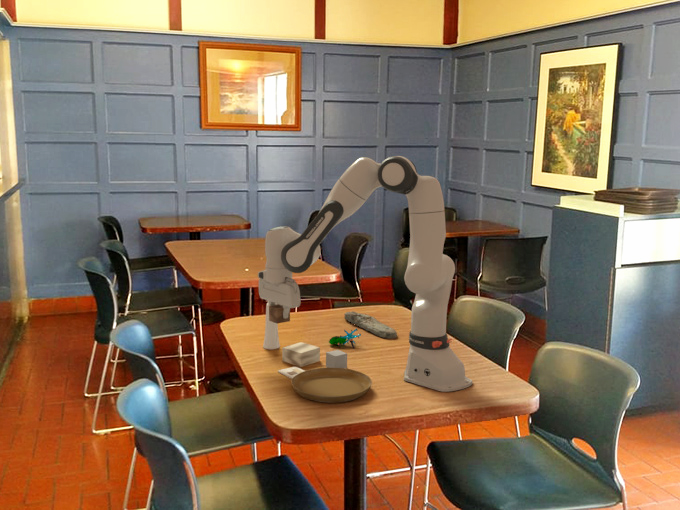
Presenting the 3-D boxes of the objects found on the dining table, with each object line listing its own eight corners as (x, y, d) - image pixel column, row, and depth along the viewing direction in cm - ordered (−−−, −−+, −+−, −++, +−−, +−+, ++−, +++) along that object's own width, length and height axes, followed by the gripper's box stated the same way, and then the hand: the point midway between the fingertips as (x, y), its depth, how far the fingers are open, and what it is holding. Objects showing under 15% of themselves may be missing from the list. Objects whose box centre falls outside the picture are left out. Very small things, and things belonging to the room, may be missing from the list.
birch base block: (319, 361, 231) (319, 347, 230) (301, 367, 224) (301, 353, 223) (301, 355, 237) (301, 342, 236) (282, 361, 230) (282, 347, 229)
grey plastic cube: (347, 368, 224) (347, 353, 223) (334, 370, 221) (335, 356, 220) (337, 364, 228) (338, 349, 227) (325, 366, 225) (326, 352, 224)
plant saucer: (321, 413, 187) (321, 401, 187) (276, 387, 206) (276, 376, 206) (387, 395, 201) (388, 384, 201) (340, 372, 220) (340, 362, 220)
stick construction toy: (360, 336, 253) (357, 324, 247) (365, 351, 248) (363, 338, 242) (329, 345, 252) (326, 333, 246) (334, 360, 247) (331, 348, 242)
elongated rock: (381, 344, 256) (403, 342, 261) (382, 331, 255) (404, 329, 260) (337, 318, 286) (357, 316, 291) (338, 306, 285) (358, 305, 290)
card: (313, 376, 215) (313, 374, 215) (295, 380, 211) (295, 378, 211) (295, 367, 223) (295, 366, 223) (277, 371, 219) (277, 370, 219)
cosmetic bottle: (271, 350, 241) (272, 290, 237) (259, 347, 245) (259, 287, 241) (283, 346, 246) (283, 287, 242) (271, 343, 249) (271, 285, 246)
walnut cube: (290, 321, 225) (289, 306, 225) (277, 323, 222) (277, 308, 222) (281, 318, 229) (281, 303, 229) (269, 320, 226) (268, 306, 226)
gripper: (304, 278, 217) (305, 320, 219) (270, 270, 233) (271, 309, 235) (288, 281, 213) (289, 323, 216) (254, 272, 229) (255, 311, 232)
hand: (279, 316), depth 226 cm, fingers closed on walnut cube, 5 cm apart
